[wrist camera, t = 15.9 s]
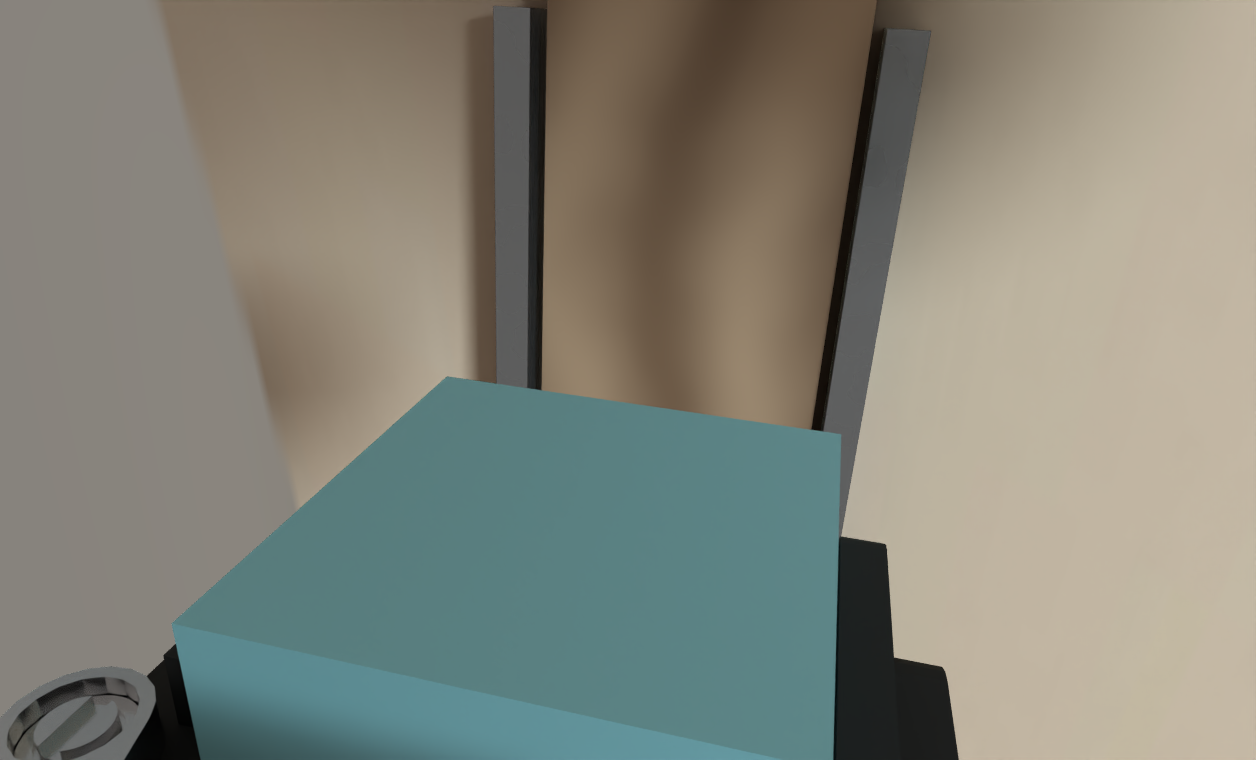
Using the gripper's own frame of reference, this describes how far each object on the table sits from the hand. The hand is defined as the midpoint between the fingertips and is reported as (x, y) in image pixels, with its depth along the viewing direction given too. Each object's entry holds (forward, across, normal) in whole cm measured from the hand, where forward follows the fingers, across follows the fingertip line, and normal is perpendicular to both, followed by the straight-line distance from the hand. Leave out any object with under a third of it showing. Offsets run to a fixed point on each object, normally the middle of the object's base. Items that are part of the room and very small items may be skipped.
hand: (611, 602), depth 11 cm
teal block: (+1, 0, 0) cm, 1 cm away
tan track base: (+21, +2, -2) cm, 21 cm away
